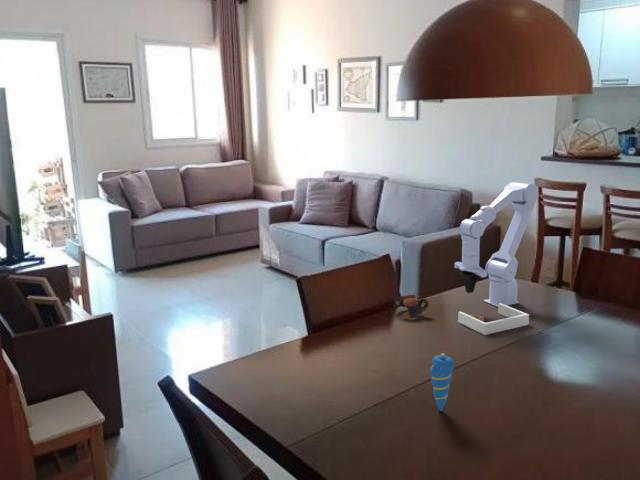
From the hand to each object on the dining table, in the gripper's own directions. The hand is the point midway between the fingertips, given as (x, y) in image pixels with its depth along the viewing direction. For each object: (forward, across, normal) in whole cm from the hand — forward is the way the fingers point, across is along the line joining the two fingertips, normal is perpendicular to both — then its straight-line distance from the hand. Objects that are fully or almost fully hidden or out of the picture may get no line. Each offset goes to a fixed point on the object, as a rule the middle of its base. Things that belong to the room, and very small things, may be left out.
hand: (469, 292), depth 198 cm
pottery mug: (+7, -6, -20) cm, 22 cm away
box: (+6, +13, -2) cm, 15 cm away
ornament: (+6, +51, -51) cm, 72 cm away
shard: (+7, +11, -6) cm, 14 cm away
